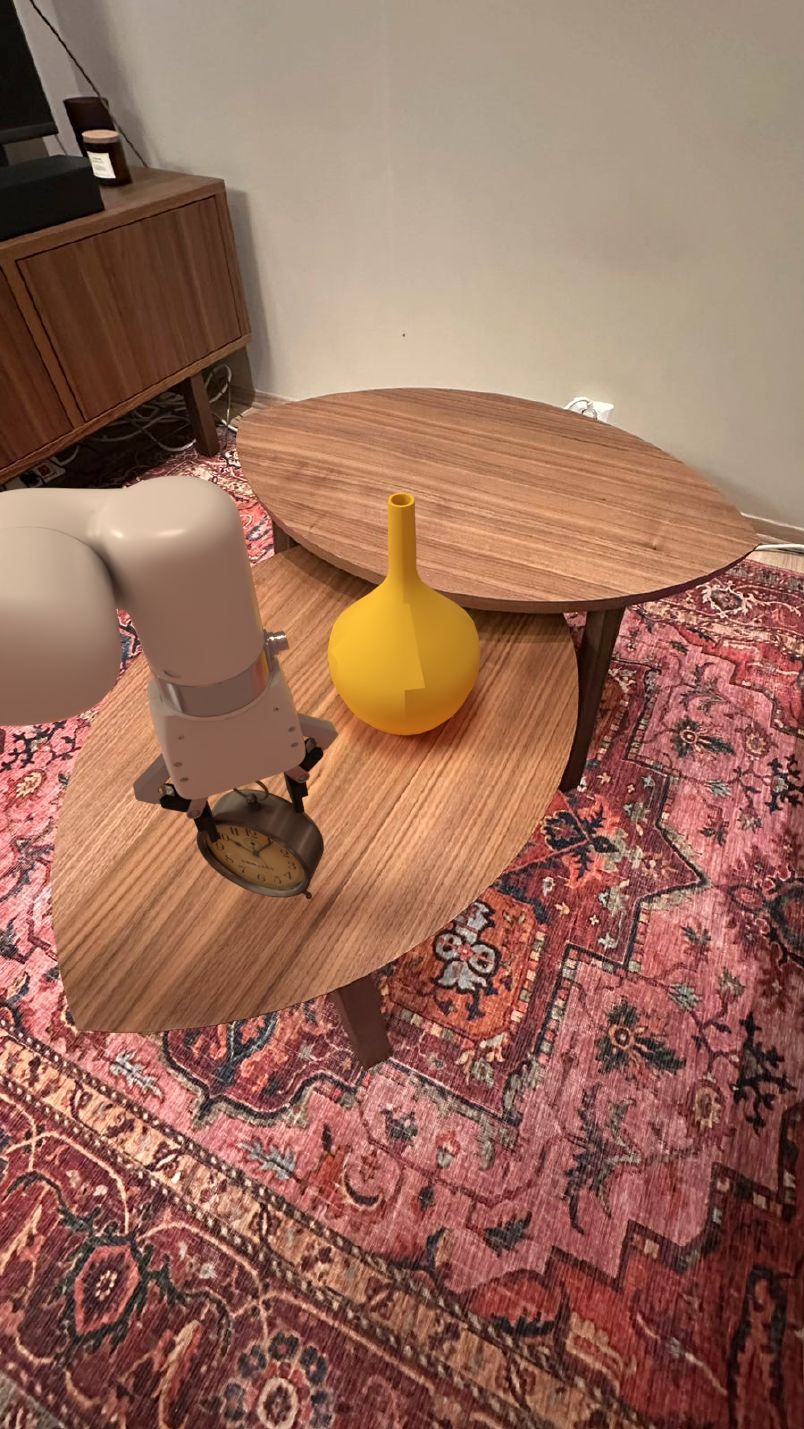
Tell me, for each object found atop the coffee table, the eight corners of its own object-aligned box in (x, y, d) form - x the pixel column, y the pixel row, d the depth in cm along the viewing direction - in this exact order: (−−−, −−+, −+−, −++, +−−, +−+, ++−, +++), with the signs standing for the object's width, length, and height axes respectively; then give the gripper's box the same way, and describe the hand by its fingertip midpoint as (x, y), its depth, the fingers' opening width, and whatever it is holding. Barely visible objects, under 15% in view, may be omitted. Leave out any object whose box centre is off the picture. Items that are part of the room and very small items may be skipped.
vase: (306, 726, 87) (268, 521, 64) (380, 639, 97) (369, 437, 75) (434, 783, 81) (441, 579, 58) (498, 684, 91) (525, 479, 69)
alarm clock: (208, 884, 66) (169, 785, 54) (233, 839, 70) (202, 736, 58) (314, 916, 64) (297, 820, 52) (334, 867, 68) (323, 767, 56)
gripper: (318, 600, 50) (335, 752, 63) (70, 665, 46) (144, 813, 59) (354, 666, 45) (364, 815, 59) (82, 745, 41) (160, 887, 54)
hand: (254, 813), depth 59 cm, fingers closed on alarm clock, 6 cm apart
